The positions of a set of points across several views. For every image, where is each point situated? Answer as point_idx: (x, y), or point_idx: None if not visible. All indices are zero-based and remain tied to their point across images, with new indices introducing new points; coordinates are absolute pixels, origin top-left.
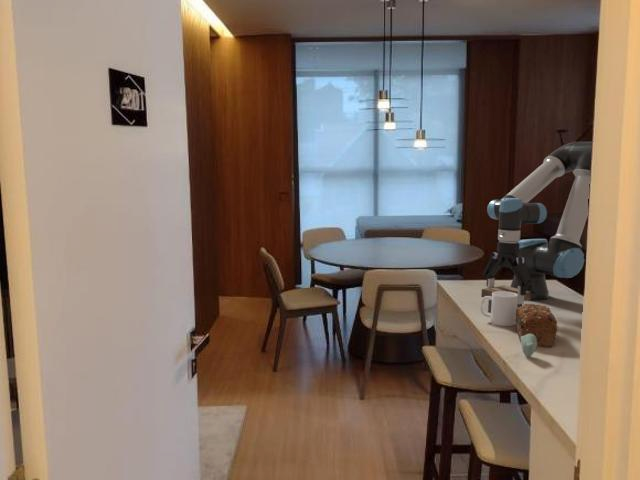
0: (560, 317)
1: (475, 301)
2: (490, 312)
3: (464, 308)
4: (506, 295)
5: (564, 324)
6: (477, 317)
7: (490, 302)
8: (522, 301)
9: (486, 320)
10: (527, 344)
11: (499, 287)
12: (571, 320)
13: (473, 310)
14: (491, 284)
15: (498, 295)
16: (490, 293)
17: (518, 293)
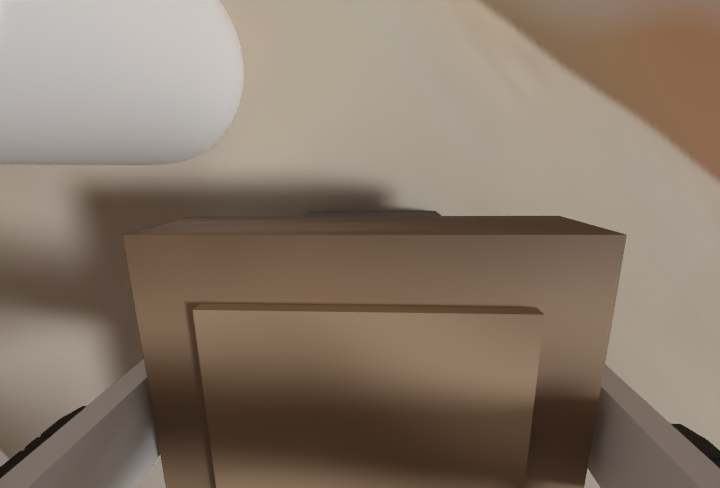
0: None
1: (705, 371)
2: (411, 211)
3: (632, 132)
4: (8, 120)
5: (4, 387)
6: (373, 8)
7: None
8: None
9: (272, 6)
10: None
11: (488, 470)
12: None
13: (541, 151)
14: (636, 473)
15: (66, 8)
16: (436, 228)
17: (107, 398)
